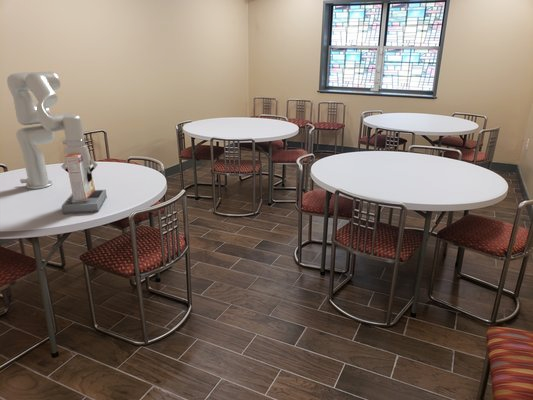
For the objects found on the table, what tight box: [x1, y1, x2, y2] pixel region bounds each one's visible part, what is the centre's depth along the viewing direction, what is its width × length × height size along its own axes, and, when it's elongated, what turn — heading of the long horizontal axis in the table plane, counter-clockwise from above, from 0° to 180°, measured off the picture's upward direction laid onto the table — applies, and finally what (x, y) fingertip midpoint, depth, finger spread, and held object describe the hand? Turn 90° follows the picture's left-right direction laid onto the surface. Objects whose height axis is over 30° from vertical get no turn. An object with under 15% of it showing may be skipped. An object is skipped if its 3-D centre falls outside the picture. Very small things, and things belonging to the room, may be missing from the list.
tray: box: [61, 189, 108, 215], centre depth 193 cm, size 15×20×4 cm
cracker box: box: [64, 154, 96, 201], centre depth 188 cm, size 14×6×21 cm, turn 5°
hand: (82, 181), depth 189 cm, fingers closed on cracker box, 6 cm apart
